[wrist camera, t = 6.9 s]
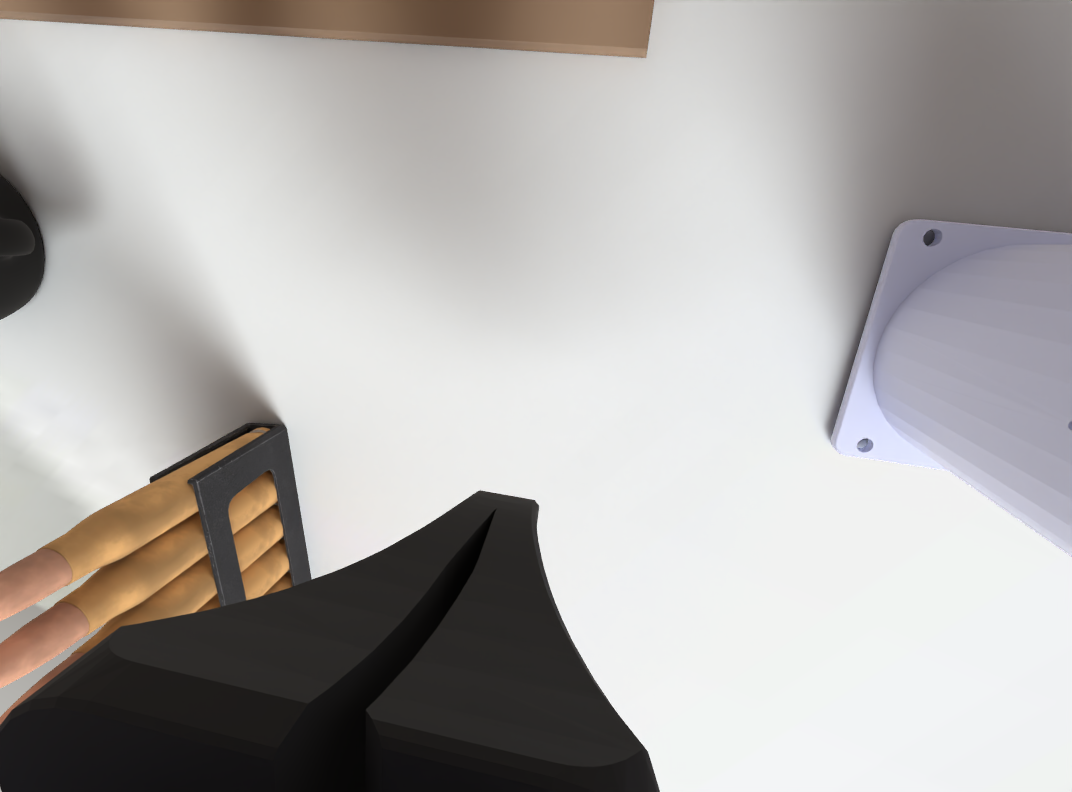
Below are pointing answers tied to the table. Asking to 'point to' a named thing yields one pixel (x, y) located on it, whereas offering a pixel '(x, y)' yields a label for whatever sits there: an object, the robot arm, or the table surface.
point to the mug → (18, 251)
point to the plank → (381, 20)
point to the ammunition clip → (164, 551)
